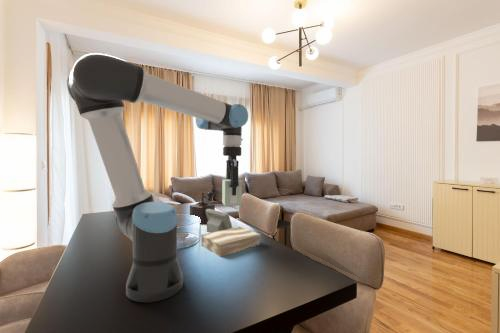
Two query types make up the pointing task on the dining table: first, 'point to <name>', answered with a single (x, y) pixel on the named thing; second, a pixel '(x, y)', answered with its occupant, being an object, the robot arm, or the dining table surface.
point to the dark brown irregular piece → (202, 208)
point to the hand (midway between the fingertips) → (231, 201)
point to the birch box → (229, 240)
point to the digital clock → (217, 221)
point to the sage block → (226, 193)
